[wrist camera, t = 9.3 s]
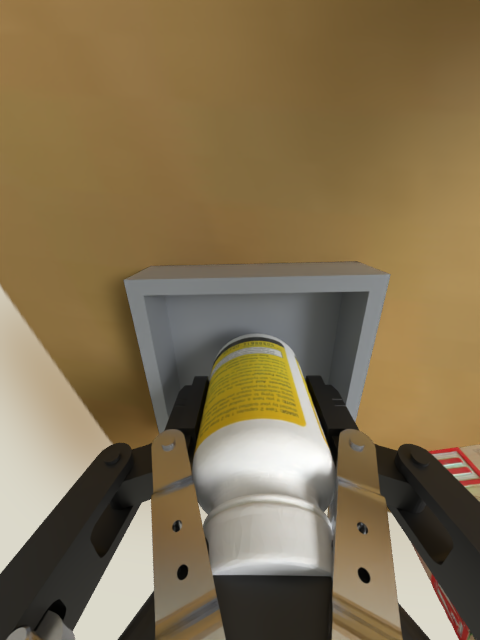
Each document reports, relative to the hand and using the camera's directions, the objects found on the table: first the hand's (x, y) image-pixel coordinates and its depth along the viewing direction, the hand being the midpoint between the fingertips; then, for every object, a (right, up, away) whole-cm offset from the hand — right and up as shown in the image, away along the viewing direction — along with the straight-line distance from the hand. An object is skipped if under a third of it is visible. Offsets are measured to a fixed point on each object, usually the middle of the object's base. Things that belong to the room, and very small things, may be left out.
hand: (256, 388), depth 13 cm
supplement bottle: (0, +1, +2) cm, 2 cm away
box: (0, +2, +4) cm, 4 cm away
